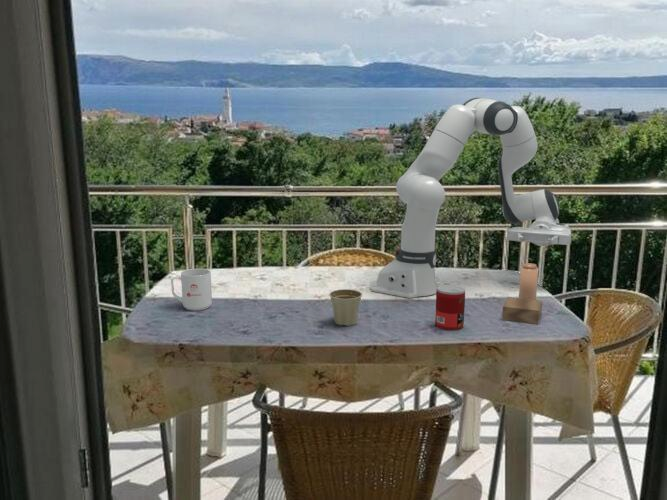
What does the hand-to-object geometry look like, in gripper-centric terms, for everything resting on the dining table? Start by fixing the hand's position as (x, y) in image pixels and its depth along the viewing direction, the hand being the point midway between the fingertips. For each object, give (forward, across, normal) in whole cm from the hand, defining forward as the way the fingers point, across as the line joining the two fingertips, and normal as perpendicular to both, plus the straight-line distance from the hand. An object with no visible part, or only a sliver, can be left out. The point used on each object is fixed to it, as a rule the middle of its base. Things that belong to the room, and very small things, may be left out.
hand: (535, 240), depth 207 cm
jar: (+12, 0, +18) cm, 22 cm away
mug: (+59, -92, +17) cm, 111 cm away
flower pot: (+52, -44, +18) cm, 70 cm away
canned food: (+41, -16, +18) cm, 48 cm away
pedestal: (+24, +1, +18) cm, 30 cm away
